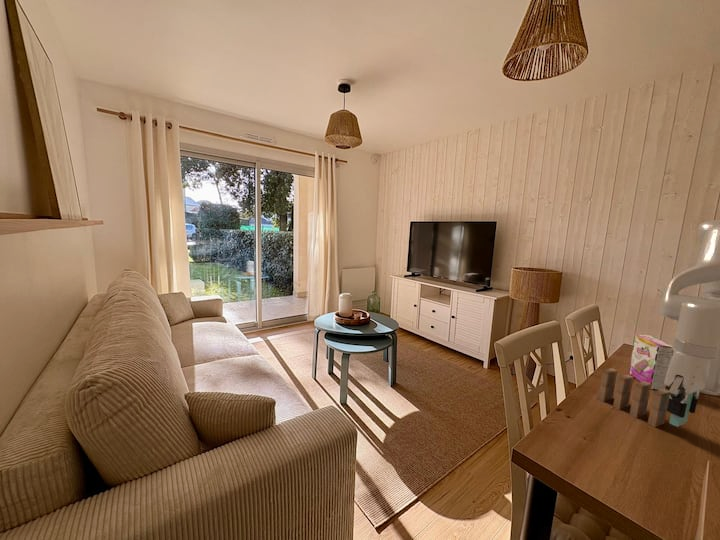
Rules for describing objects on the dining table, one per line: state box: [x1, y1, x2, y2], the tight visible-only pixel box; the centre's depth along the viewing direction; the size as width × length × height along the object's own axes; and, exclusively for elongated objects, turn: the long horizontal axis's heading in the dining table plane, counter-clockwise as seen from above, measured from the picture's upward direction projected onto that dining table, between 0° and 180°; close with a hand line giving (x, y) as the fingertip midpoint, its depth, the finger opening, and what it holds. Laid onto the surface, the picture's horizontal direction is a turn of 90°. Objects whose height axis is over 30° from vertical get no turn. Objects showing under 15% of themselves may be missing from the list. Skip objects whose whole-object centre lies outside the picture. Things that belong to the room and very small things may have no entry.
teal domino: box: [668, 388, 693, 428], centre depth 77 cm, size 5×2×10 cm, turn 112°
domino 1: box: [597, 367, 619, 403], centre depth 93 cm, size 5×2×10 cm, turn 112°
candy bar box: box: [628, 333, 675, 391], centre depth 104 cm, size 11×5×16 cm, turn 168°
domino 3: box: [629, 381, 652, 419], centre depth 86 cm, size 5×2×10 cm, turn 112°
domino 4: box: [647, 388, 670, 428], centre depth 82 cm, size 5×2×10 cm, turn 112°
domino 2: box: [612, 373, 635, 410], centre depth 89 cm, size 5×2×10 cm, turn 112°
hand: (680, 411), depth 78 cm, fingers closed on teal domino, 4 cm apart
